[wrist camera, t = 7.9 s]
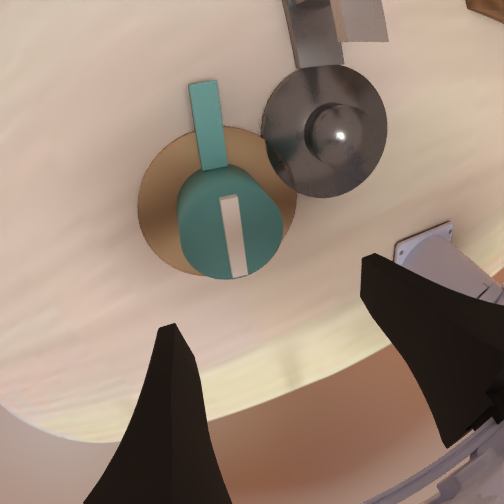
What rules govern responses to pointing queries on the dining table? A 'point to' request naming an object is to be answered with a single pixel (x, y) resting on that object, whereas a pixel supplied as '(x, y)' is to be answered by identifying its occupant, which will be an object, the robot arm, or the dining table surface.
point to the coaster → (184, 165)
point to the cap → (223, 203)
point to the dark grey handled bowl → (326, 100)
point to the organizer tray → (488, 8)
